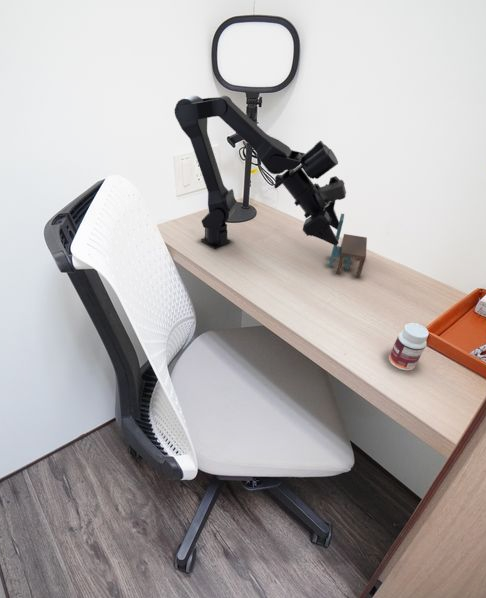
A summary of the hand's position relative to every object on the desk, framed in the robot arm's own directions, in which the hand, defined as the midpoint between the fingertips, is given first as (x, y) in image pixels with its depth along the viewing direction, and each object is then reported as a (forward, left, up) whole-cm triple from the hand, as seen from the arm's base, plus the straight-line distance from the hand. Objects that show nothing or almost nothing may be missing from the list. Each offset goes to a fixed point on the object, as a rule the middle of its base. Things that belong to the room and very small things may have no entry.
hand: (338, 236), depth 95 cm
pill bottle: (+30, -22, -8) cm, 38 cm away
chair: (+2, +1, -8) cm, 8 cm away
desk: (+4, +2, -8) cm, 9 cm away
